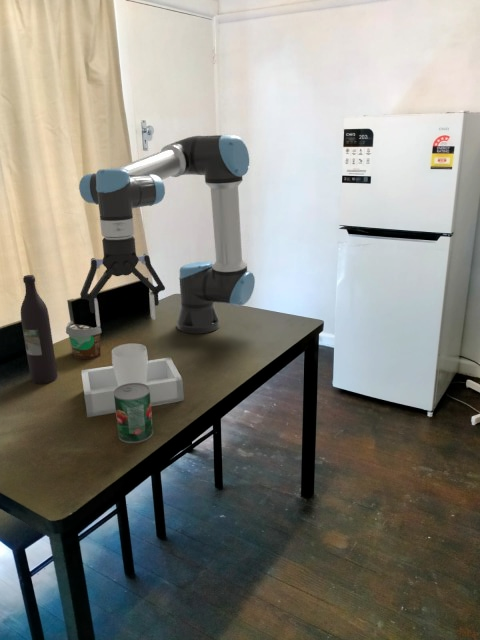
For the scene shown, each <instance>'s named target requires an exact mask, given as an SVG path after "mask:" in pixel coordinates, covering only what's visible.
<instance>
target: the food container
mask: <svg viewBox="0 0 480 640" xmlns="http://www.w3.org/2000/svg"><path fill="white" fill-rule="evenodd" d="M65 333H66V334H67V335H68V337H69V342H70V346H71V350H72V355H73V357H74V358H75V359H79V360H91V359H95V358H99V357H101V354H102V353H101V352H102V351H101V334H102V328H101V325H100V326H98V327H97V326H96V327H92V326H90V325H87V324H77V323H74V322H73V320H71V321H70V322H68V323H67V325H66V327H65Z"/></svg>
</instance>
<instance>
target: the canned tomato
mask: <svg viewBox="0 0 480 640" xmlns="http://www.w3.org/2000/svg"><path fill="white" fill-rule="evenodd" d="M114 399H115V408H116V412H115V415H116V416H115V417H116V425H117V426H116V427H117V434H118V435H117V436H118V439H119V440H120V441H121V442H124V443H125V444H138V443H142V442H145V441H148V440H149V439H150V438H151V437H152V436H153V434H154V427H153V415H152V406H151V400H150V388H149V387H148V386H147V385H145V384H142V383H128V384H124V385H121V386H119V387H118V388H116V389H115V391H114Z"/></svg>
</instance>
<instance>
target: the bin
mask: <svg viewBox="0 0 480 640" xmlns="http://www.w3.org/2000/svg"><path fill="white" fill-rule="evenodd" d="M80 372H81V380H82V388H83V395H84V404H85V410H86V418H91V417H92V418H94V417H97V416H98V417H99V416H103V415H104V416H105V415H110V414H114V413H115V414H116V408H115V399H114V391H115V389H116V388H118V383H117V380H116V376H115V372H114V368H113V365H109V366H104V367H96V368H88V369H81V370H80ZM179 372H180V371H178V369H177V367H176V365H175V363H174V362H173V360H172V358H171V357H163V358H155V359H150V360H149V359H148V366H147V380H146V383H142V384H145V385H147V386H148V387H149V388H150V400H151V407H154V406H155V407H156V406H162V405H166V404H171V403H177V402H178V403H179V402H183V401H184V400H185V399H184V397H185V395H184V380H183V377H182V375H181V374H180V373H179Z"/></svg>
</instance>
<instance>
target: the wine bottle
mask: <svg viewBox="0 0 480 640" xmlns="http://www.w3.org/2000/svg"><path fill="white" fill-rule="evenodd" d="M22 279H23V283H24V287H25V295H24V299H23V301H22V304H21V306H20V321H21V326H22V332H23V339H24V345H25V351H26V357H27V363H28V370H29V377H30V380H31V382H32V383H33V384H39V385H43V384H49V383H52V382H53V381H55V380H57V378H58V371H57V370H58V369H57V364H56V363H57V362H56V356H55V349H54V343H53V335H52V334H53V333H52V329H51V321H50V315H49V311H48V307H47V305H46V303H45V302H44V300H43V298H42V297H40V295H39V293H38V291H37V287H36V277H35V275H34V274H27V275H23V278H22Z"/></svg>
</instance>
